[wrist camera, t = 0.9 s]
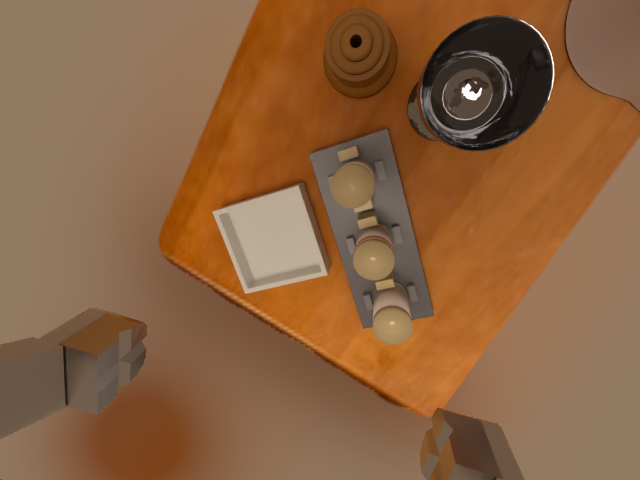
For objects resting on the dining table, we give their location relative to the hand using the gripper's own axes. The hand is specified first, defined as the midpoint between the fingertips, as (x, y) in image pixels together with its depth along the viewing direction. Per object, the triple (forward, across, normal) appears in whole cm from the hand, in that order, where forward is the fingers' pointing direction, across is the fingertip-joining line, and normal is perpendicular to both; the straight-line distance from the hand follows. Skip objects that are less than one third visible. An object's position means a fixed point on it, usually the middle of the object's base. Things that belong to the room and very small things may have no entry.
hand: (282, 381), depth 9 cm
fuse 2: (+31, -8, +11) cm, 34 cm away
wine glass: (+32, -7, -11) cm, 35 cm away
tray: (+32, +8, +8) cm, 34 cm away
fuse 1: (+31, 0, -2) cm, 31 cm away
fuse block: (+32, -4, +4) cm, 33 cm away
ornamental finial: (+32, +3, -14) cm, 35 cm away
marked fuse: (+31, -4, +4) cm, 31 cm away
